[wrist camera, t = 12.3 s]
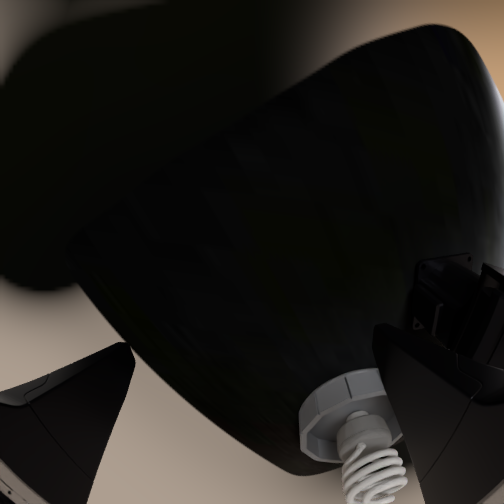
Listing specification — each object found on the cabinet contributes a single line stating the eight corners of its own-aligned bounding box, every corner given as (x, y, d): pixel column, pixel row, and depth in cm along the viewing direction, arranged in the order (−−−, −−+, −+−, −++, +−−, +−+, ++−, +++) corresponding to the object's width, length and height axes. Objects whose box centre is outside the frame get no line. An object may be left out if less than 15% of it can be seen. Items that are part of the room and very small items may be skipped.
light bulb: (388, 408, 23) (421, 493, 12) (347, 434, 25) (364, 519, 13) (365, 386, 23) (399, 486, 11) (319, 415, 24) (333, 514, 12)
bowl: (414, 356, 22) (428, 377, 19) (393, 428, 25) (401, 448, 22) (296, 378, 23) (299, 404, 20) (299, 446, 26) (300, 468, 23)
